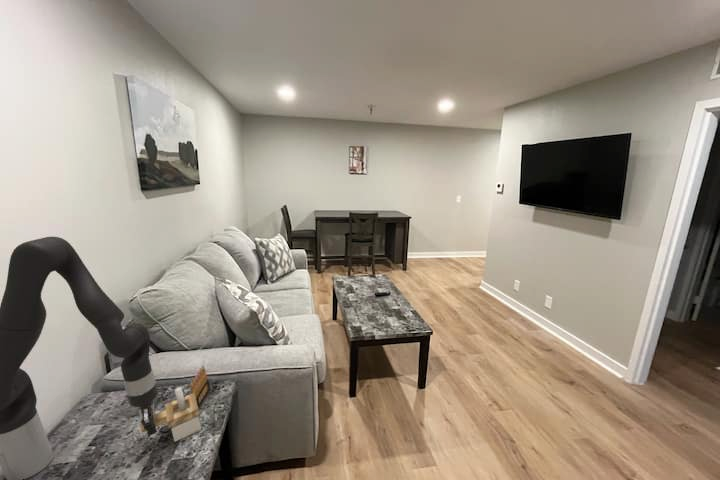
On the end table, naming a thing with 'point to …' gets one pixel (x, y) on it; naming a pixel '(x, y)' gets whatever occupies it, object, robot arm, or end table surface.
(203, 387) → the ammunition clip
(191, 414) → the oak link
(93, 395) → the end table surface
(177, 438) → the ring stand
